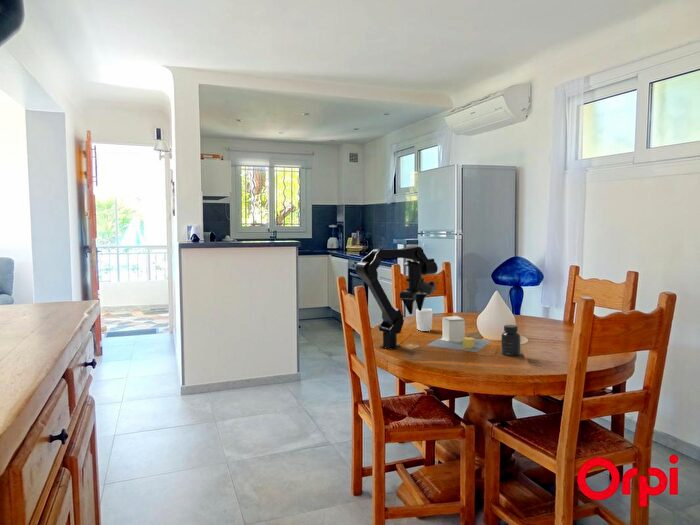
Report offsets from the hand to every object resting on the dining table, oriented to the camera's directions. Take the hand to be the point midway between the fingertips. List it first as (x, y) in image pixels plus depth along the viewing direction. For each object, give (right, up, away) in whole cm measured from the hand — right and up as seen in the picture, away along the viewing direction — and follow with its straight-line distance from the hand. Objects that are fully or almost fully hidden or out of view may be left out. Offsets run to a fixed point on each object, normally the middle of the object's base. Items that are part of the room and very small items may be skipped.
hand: (415, 312), depth 206 cm
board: (+17, -13, -6) cm, 23 cm away
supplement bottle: (+33, -15, -24) cm, 43 cm away
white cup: (+7, -11, +24) cm, 27 cm away
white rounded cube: (+16, -11, 0) cm, 20 cm away
